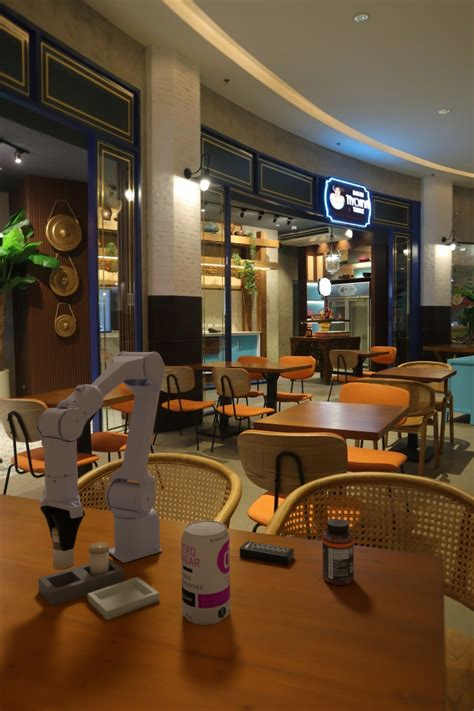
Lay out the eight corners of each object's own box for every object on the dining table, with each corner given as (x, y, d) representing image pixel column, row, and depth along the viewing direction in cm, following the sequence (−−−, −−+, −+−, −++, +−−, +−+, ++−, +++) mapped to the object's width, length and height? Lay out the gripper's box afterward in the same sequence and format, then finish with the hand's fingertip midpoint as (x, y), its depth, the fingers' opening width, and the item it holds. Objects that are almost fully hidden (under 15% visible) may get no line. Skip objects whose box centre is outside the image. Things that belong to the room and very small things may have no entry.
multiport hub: (287, 567, 110) (287, 556, 110) (239, 558, 114) (238, 548, 114) (294, 559, 114) (294, 548, 114) (247, 550, 118) (247, 540, 118)
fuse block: (108, 569, 108) (108, 557, 108) (124, 582, 103) (124, 569, 103) (38, 591, 100) (38, 578, 100) (52, 606, 94) (51, 592, 94)
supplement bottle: (323, 571, 107) (323, 515, 106) (353, 573, 106) (353, 517, 105) (321, 585, 101) (321, 526, 101) (353, 587, 100) (353, 528, 99)
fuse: (104, 575, 106) (103, 540, 106) (113, 582, 103) (112, 546, 103) (86, 580, 104) (85, 545, 104) (94, 588, 101) (93, 551, 101)
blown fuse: (69, 558, 102) (68, 522, 101) (77, 565, 99) (76, 528, 98) (49, 564, 99) (48, 527, 99) (57, 571, 96) (56, 533, 96)
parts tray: (137, 584, 102) (137, 577, 102) (159, 600, 96) (158, 592, 96) (87, 601, 96) (87, 593, 96) (107, 620, 90) (107, 611, 89)
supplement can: (236, 605, 94) (235, 521, 93) (220, 630, 86) (218, 539, 85) (194, 598, 96) (193, 517, 96) (174, 622, 89) (172, 533, 88)
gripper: (26, 469, 101) (28, 539, 102) (53, 486, 90) (55, 565, 91) (62, 463, 106) (64, 530, 106) (93, 478, 94) (95, 553, 95)
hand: (63, 545), depth 99 cm, fingers closed on blown fuse, 4 cm apart
